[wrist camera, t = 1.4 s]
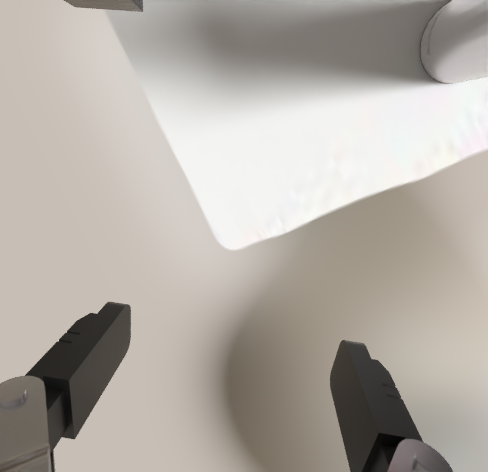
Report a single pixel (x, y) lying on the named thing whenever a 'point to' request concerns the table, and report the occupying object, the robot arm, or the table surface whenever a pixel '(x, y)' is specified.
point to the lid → (109, 4)
